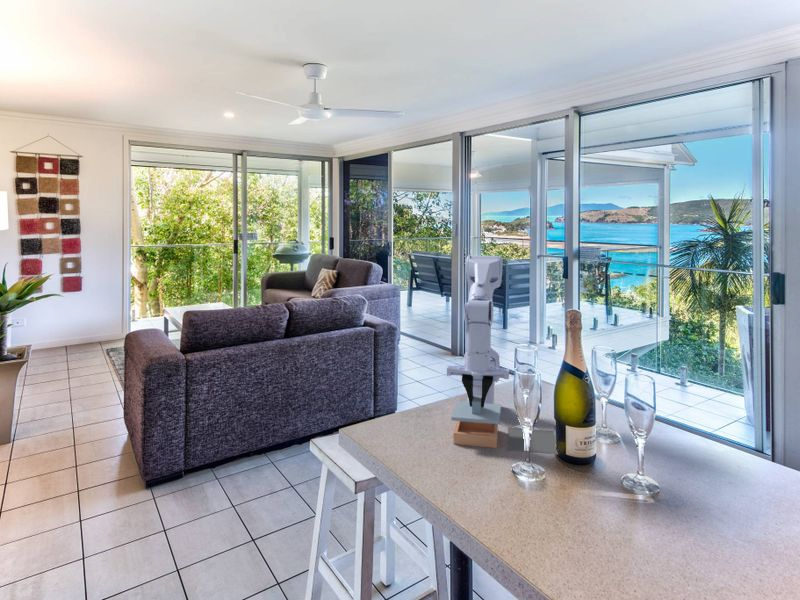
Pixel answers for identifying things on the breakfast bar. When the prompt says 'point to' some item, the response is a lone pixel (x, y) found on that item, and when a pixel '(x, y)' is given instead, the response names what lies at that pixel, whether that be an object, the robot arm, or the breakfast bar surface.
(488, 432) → the square open tray
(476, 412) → the lid
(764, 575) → the breakfast bar surface
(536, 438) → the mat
